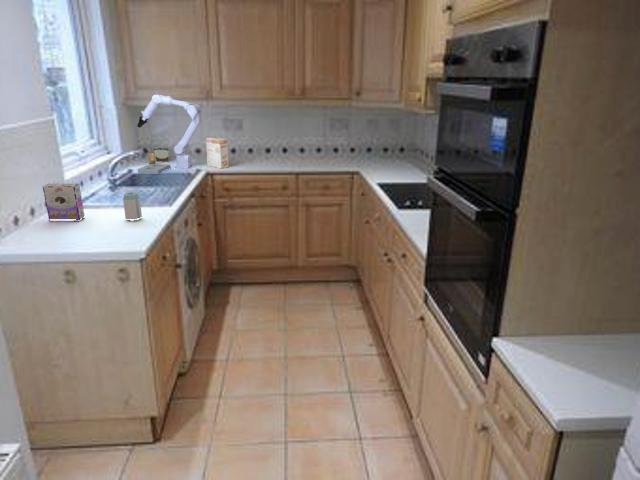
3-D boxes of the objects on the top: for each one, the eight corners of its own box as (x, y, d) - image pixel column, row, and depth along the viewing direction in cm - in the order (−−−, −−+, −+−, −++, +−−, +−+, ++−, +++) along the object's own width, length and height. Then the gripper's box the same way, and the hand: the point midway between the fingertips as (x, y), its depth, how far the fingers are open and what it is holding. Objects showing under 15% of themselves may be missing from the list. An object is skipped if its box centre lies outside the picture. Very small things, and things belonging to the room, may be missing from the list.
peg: (156, 165, 338) (155, 152, 335) (153, 167, 334) (152, 153, 331) (151, 165, 338) (149, 152, 335) (148, 166, 334) (146, 153, 331)
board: (170, 168, 330) (170, 164, 329) (158, 173, 314) (157, 169, 313) (151, 167, 332) (150, 163, 331) (138, 172, 315) (137, 169, 315)
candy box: (85, 218, 223) (80, 182, 217) (80, 222, 217) (74, 186, 212) (54, 218, 222) (48, 182, 217) (48, 221, 217) (41, 185, 211)
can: (122, 220, 220) (119, 194, 216) (135, 216, 226) (132, 191, 222) (132, 223, 217) (129, 196, 213) (145, 219, 222) (142, 193, 218)
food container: (173, 160, 357) (172, 146, 354) (170, 162, 351) (169, 148, 348) (157, 160, 358) (156, 146, 355) (154, 161, 353) (152, 147, 349)
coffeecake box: (229, 167, 337) (227, 138, 330) (221, 168, 331) (219, 139, 325) (215, 164, 346) (213, 136, 339) (207, 165, 340) (205, 137, 334)
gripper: (147, 103, 329) (137, 118, 334) (142, 108, 317) (131, 124, 321) (156, 109, 332) (146, 124, 337) (152, 115, 319) (141, 131, 324)
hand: (139, 125), depth 329 cm, fingers open, 7 cm apart
